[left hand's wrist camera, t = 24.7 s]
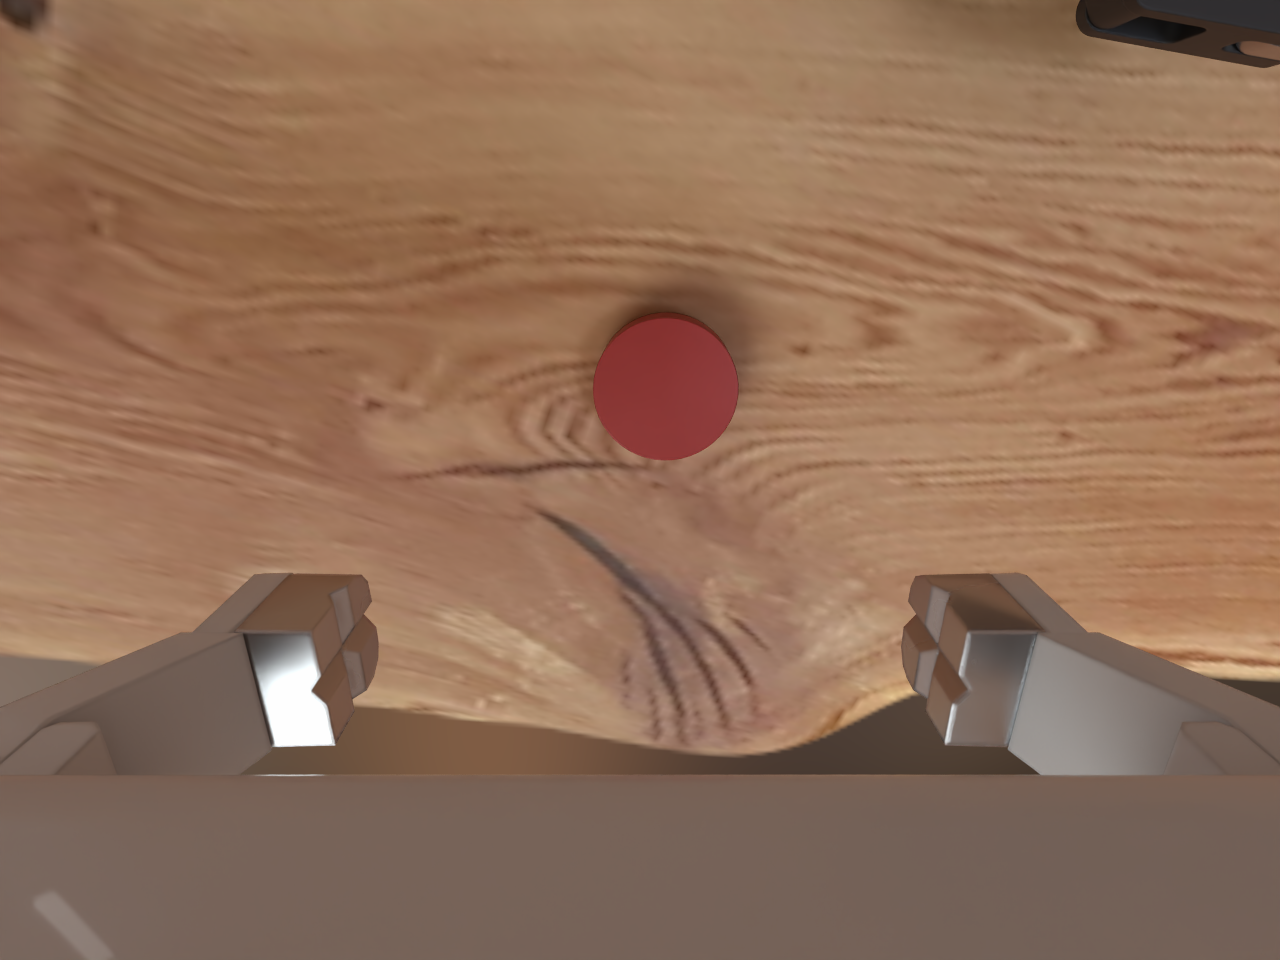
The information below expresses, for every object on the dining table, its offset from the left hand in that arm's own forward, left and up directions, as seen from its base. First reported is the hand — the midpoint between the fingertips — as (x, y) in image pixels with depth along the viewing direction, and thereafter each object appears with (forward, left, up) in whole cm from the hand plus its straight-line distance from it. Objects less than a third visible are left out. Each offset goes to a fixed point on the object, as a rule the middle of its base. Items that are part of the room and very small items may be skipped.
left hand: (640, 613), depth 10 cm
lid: (+1, 0, -17) cm, 17 cm away
